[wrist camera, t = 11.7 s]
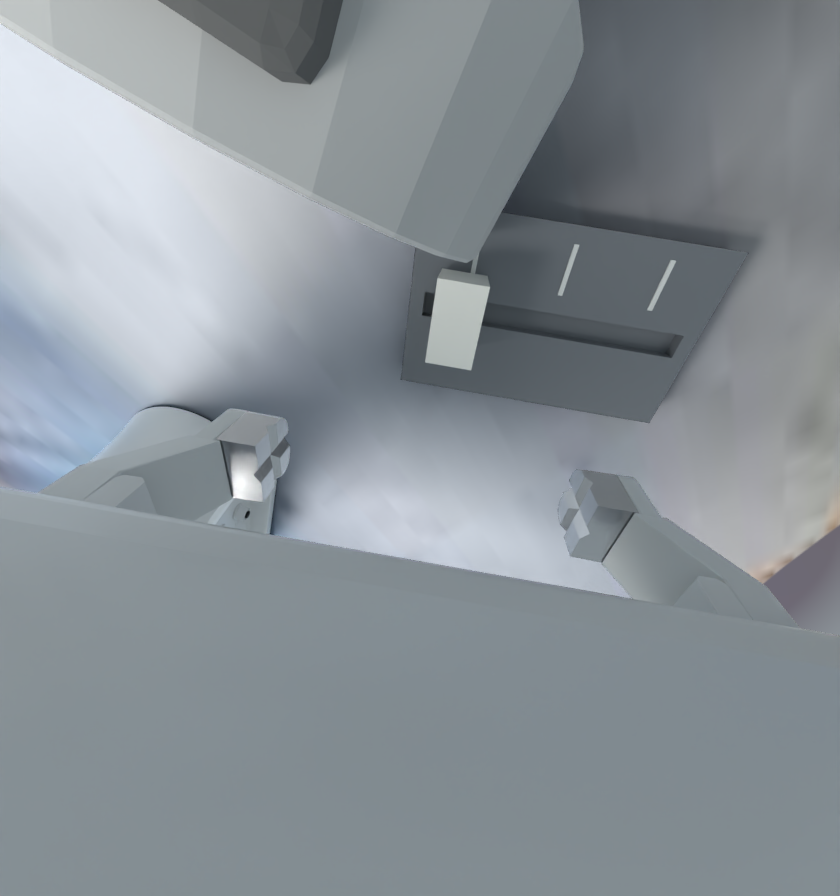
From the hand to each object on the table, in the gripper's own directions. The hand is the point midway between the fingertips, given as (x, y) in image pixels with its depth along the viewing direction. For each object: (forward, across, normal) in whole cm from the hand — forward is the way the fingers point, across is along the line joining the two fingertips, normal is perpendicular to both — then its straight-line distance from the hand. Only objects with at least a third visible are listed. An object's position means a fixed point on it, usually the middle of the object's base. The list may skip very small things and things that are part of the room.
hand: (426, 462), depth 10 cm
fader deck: (+20, +7, 0) cm, 21 cm away
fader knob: (+19, 0, 0) cm, 19 cm away
